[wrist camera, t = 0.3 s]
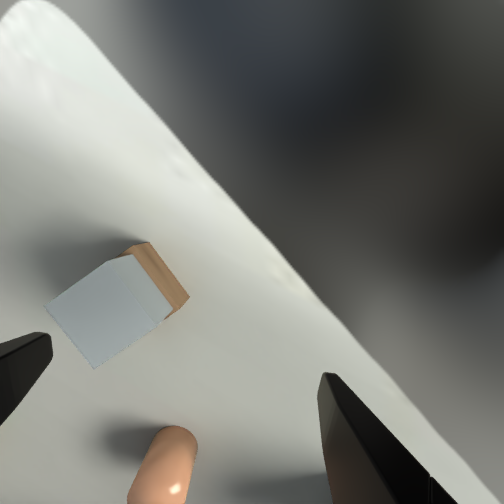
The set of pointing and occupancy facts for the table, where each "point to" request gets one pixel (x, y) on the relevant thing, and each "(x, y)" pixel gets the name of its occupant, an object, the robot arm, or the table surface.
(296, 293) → the table surface
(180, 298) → the walnut base block
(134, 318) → the slate block
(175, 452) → the tan egg
